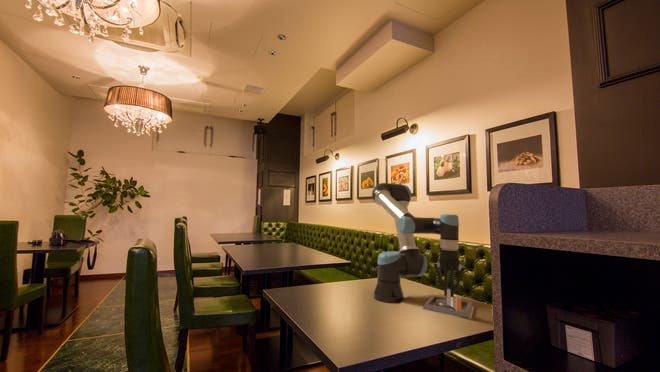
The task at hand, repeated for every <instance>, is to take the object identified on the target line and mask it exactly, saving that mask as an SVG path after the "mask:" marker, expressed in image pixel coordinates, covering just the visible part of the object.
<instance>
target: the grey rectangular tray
mask: <svg viewBox="0 0 660 372" xmlns="http://www.w3.org/2000/svg"><path fill="white" fill-rule="evenodd" d="M437 299H447V297H443V296H437V295H431V296H430V297H429V298H428V300H427V301H426V302H425V303H424V304H423V307H421V309H422V310H426V311H430V312H435V313H440V314H445V315H449V316H450V315H452V316H455V317H460V318H465V319H470V320H471V319H472V317H473V313H474V309H475V306H473V302H472V301H467V300H462V299H461V304H462V311H456V310H455V309H449V308H444V307H439V306H436V300H437Z"/></svg>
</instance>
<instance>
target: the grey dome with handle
mask: <svg viewBox="0 0 660 372" xmlns="http://www.w3.org/2000/svg"><path fill="white" fill-rule="evenodd" d="M461 300H462V298H460V297H459V296H457V295H456V294H455V293H454V296H453V297H451V305H447V299H437V300H436V306H439V307H444V308H449V309H455V310H456V311H462V304H461Z"/></svg>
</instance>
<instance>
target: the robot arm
mask: <svg viewBox="0 0 660 372" xmlns="http://www.w3.org/2000/svg"><path fill="white" fill-rule="evenodd" d="M371 198H372V201H373V202H375V204H376V205H378V206H380V207H382V208H383V209H384V211H386V212H387V214H388V215H390V216H391V217H392V218H393V219H394V223H395V229H396V234H397V239H398V244H399V251H394V250H393V251H392V250H391V251H383V252H380V253H379V254H378V256H377V257H378V258H377V281H376V285H375V288H374V291H373V298H374V299H375V300H377V301H379V302H383V303H394V304H395V303H397V304H398V303H401V302H402V303H403V301H404V297H405V296H404V292H403V289H402V285H401V278H410V277H411V278H412V277H414V278H417V277H422V276H424V275H425V274H426V273H427V270H428V259H427V257H426V256H425V254H423V253H421V249H420V248H418V247H417V244H416V241H415V236H414V235H415V234H416V235H417V234H426V235H427V234H428V235H429V234H430V235H431V234H432V235H433V234H434V235H440V238H439V239H440V240H439V241H440V245H439V247H440V250H439V257H440V258H439V260H438V262H436V263H433V267H434V268H435V270H436V275H437V278H438V284H439V286H440V287H441V288H443V289H444V291H443V293H444V295H443V296H445V297H446V298H447V305H451V297H453V296H454V294H455V290H458V289H459V286H460V283H461V279H462V275H463V272H464V271H465V270H466V267H465V266H463V265H462V264H461V263H460V260H459V258H460V257H459V254H460V253H459V252H460V251H459V246H460V245H459V243H460V241H459V239H460V238H459V235H460V233H459V231H460V229H459V228H460V227H459V226H460V223H459V221H460V220H459V216H458V215H457V214H451V213H450V214H445V213H443V214H442V213H441V214H440V218H439V217H438V218H437V217H420V216H419V217H416V216H414V215H413V214H412V213H411V212H410V211H409V209H408V206H409V205H410V203H411V200H412V190H411V189H410V187H409V186H408V185H406V184H403V183H391V182H390V183H388V182H381V183H379V184H376V185H375V186H374V188H373V189H372V192H371ZM441 268H442V269H443V275H442V272H441ZM457 269H458V274H457V278H456V282H455V271H456V270H457ZM449 272H450V273H449ZM449 275H450V278H449ZM443 277H444V278H443ZM449 279H450V281H449ZM449 282H450V283H449ZM449 284H450V285H449ZM449 286H450V287H449Z"/></svg>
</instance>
